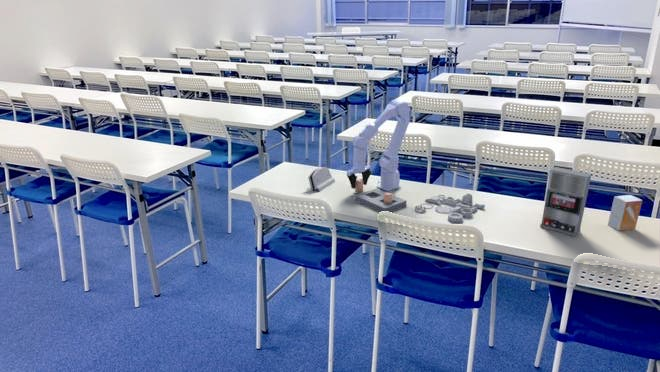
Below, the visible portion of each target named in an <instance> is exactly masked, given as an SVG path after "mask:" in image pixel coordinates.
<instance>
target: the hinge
mask: <svg viewBox="0 0 660 372" xmlns="http://www.w3.org/2000/svg"><path fill="white" fill-rule="evenodd" d="M307 179H308V182H309V183H308V184H309V186H310V190H311V191H314V190H315V191H316V190H318V192H320V193H321V192H322V191H323V190H325V189H326V188H328V187H329V186H331V185H332V184H334V183H336V180H335V178H334V177H332V174H331V172H330V169H329V168H328V167H319V168H316V169H315V170H312V172H311V173H310V174H309V175H308V178H307Z"/></svg>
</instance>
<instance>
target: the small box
mask: <svg viewBox="0 0 660 372" xmlns="http://www.w3.org/2000/svg"><path fill="white" fill-rule="evenodd" d="M613 197H614V198H613V201H612V206H611V209H610V214H609V219H608V223H607V225H608V226H609V227H611V228H612V229H614V228H615V229H614V230H617V231H619V232H620V231H621V232H622V231H628V230H630V229H631V230H635V229H636V228H637V227H636V226H637V223H638V219H639V216H640V211H641V208H642V203H643V200H642V199H640V198H639V197H636V196H634V195H633V194H625V195H617V196H613Z"/></svg>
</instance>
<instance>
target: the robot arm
mask: <svg viewBox="0 0 660 372" xmlns="http://www.w3.org/2000/svg"><path fill="white" fill-rule="evenodd" d="M410 112H411V107H410V105H409V104H408V103H407V102H403V101H401V100H398V99H392V100H391V101H390V102H389V103H388V104H387V105H386V107H385V109H384V110H383V111H382V112H381V114H380V115H379V116H378V117H377V118H376V119H375V120H374V121H373V122H372V123H368V124H366V125H365V128H364V129H363V130H362V131H361V132H359V133H358V134H357V135H355V136H354V137H353V138H352V140H351V144H352V145H353V166H352V168H351V169H348V170H347V171H346V176H347V178H348V181H349V184H350V188H352V189H353V190H355V186H356V179H358V176H357V175H356V174H360V173H361V176H362V177H361V178H362V180H363V186H367V185H368V181H369V178H370V176H371V174H372V166H371V165H366V157H367V156H366V155H367V152H366V151H367V150H366V148H368V145H369V142H370V141H371V140H372V139H373V138H374V137H375V136H376V135H377V133H378V132H379V128H380V127H381V126H382V125H384V123H386V122H387V121H388V120H389V119H390V118H395V117H396V119H397V123H396V125H395V128H394V131H393V134H392V135H391V139H390V142H389V145H388V147H387V150H386V151H384V152H383V154H382V156H381V157H380V158H379V160H378V165H379V166H380V184H379V185H376V188H377V189H378V188H379V189H380V190H382V191H383V190H384V191H386V192H390V191H392V190H395V189H398V188H400V187H401V185H400V180H401V179H400V171H399V170H398V168H399V161H400V159H399V158H400V157H399V155H398V154H399V151H400V149H401V146H402V143H403V141H404V138H405V135H406V133H407V130H408V127H409V124H410V121H411V117H410Z"/></svg>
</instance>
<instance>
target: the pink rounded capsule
mask: <svg viewBox="0 0 660 372" xmlns="http://www.w3.org/2000/svg"><path fill="white" fill-rule="evenodd" d="M362 192H363V193H364V184H363V180H362V179H361V178H357V179H356V186H355V189H354V193H356V194H361V193H362Z"/></svg>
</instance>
